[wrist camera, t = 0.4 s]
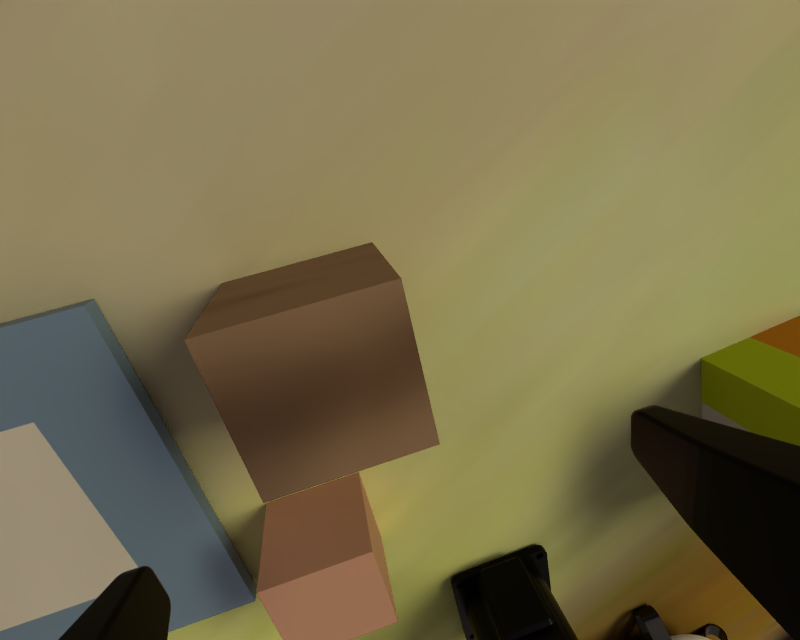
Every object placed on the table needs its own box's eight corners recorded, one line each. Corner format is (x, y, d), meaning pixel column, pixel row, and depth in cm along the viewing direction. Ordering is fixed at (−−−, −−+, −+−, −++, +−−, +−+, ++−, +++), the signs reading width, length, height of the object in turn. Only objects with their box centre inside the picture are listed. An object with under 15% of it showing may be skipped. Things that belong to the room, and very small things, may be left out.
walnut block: (404, 368, 21) (439, 444, 15) (275, 408, 20) (263, 503, 14) (371, 241, 18) (400, 278, 12) (222, 282, 17) (184, 339, 12)
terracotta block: (380, 534, 24) (398, 621, 20) (296, 564, 24) (295, 660, 19) (358, 471, 22) (372, 551, 18) (266, 501, 22) (256, 592, 17)
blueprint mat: (256, 586, 23) (254, 601, 23) (-45, 694, 22) (-57, 713, 21) (93, 298, 16) (83, 305, 16) (-375, 424, 15) (-413, 439, 14)
